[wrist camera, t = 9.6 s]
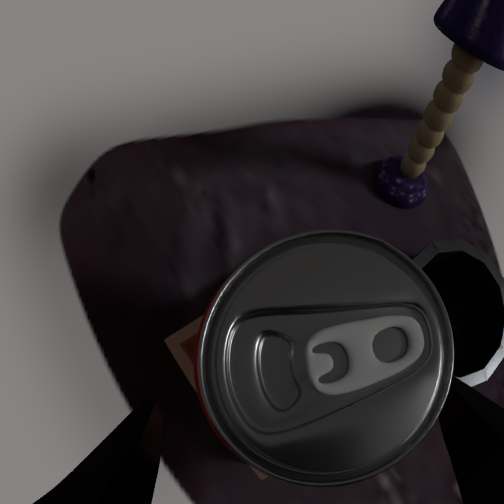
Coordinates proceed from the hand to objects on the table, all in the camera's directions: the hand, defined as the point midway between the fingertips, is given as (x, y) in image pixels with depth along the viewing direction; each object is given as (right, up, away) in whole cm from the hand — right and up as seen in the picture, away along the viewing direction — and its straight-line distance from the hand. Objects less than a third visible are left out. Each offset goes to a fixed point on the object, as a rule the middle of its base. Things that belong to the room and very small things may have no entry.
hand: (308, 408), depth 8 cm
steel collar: (+10, 0, +9) cm, 13 cm away
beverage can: (0, -2, +8) cm, 8 cm away
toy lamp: (+9, +10, +13) cm, 19 cm away
